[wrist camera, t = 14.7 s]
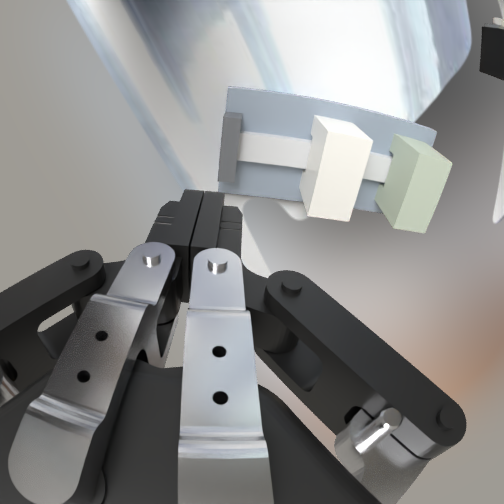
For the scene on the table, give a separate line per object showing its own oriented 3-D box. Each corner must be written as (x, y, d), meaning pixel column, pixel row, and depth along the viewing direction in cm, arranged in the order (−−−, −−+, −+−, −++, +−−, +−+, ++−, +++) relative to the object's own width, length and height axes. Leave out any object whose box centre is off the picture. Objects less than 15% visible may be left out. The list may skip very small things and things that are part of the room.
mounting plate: (219, 187, 43) (212, 222, 36) (228, 86, 34) (222, 97, 27) (403, 212, 45) (427, 247, 38) (431, 128, 37) (466, 151, 29)
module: (299, 187, 41) (307, 216, 35) (314, 114, 35) (327, 131, 29) (334, 192, 42) (348, 221, 36) (352, 122, 36) (373, 140, 30)
